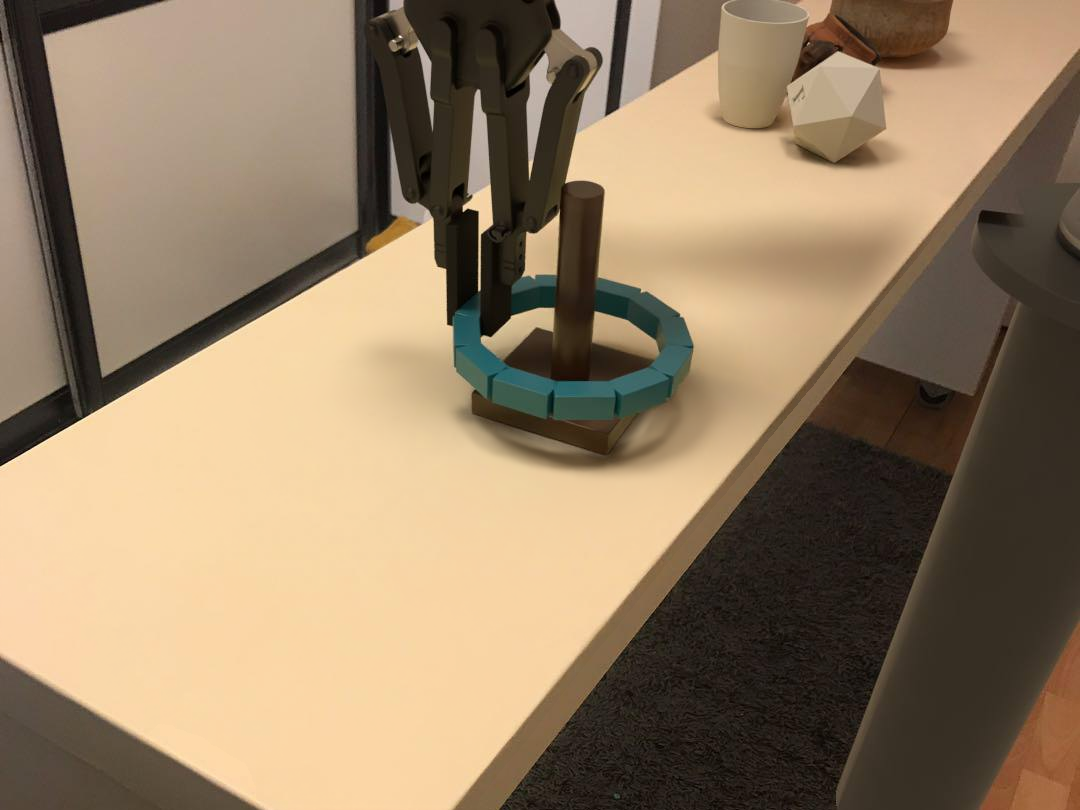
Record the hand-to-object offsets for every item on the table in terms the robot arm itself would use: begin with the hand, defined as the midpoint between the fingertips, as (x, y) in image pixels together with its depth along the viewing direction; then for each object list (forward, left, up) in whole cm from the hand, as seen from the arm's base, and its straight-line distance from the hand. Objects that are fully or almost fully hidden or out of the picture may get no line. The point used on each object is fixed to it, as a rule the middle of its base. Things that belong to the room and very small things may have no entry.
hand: (479, 320), depth 66 cm
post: (-6, 0, -4) cm, 7 cm away
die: (-10, -50, -4) cm, 51 cm away
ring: (-6, 0, 0) cm, 6 cm away
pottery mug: (-5, -66, -4) cm, 66 cm away
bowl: (-8, -86, -4) cm, 86 cm away
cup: (-1, -54, -4) cm, 54 cm away
